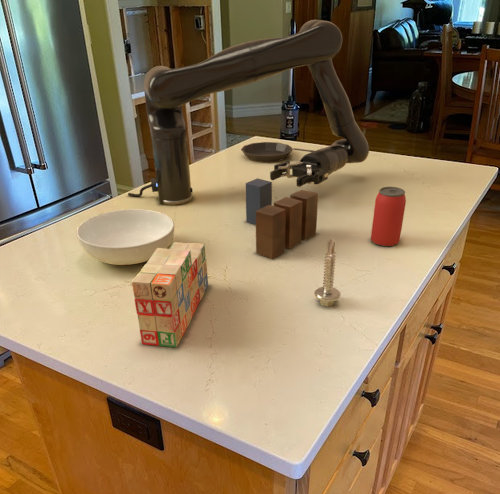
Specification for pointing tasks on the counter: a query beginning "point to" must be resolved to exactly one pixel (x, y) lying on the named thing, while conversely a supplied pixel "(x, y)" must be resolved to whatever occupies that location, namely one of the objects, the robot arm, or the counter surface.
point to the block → (257, 197)
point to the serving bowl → (125, 235)
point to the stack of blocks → (170, 292)
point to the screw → (328, 279)
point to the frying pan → (268, 151)
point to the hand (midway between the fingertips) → (284, 179)
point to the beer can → (388, 216)
